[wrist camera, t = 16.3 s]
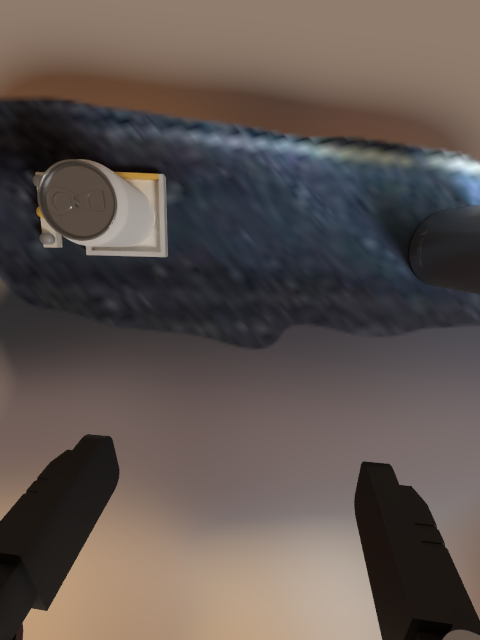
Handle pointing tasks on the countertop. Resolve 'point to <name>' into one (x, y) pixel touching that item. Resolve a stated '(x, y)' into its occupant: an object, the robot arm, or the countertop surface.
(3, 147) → the countertop surface
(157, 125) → the countertop surface
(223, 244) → the countertop surface
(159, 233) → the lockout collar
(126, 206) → the can
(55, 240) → the indicator bank
